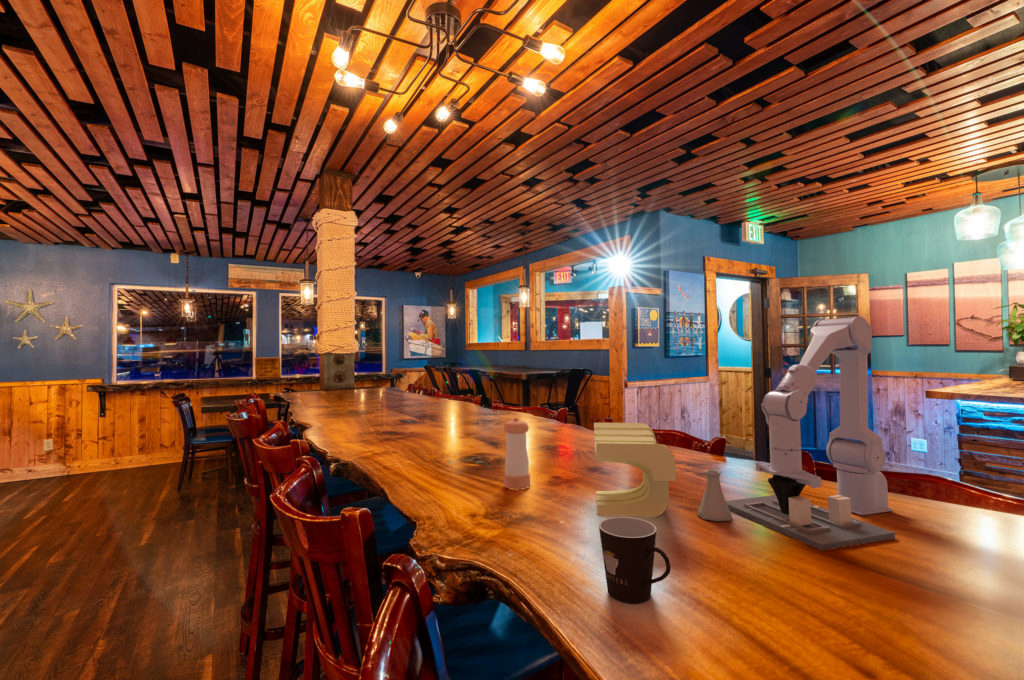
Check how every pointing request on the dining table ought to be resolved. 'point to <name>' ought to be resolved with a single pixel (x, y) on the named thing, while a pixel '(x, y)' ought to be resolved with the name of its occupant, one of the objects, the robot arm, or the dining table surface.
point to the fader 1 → (800, 510)
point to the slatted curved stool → (640, 451)
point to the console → (815, 534)
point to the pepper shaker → (516, 455)
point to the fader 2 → (839, 509)
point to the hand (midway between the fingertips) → (787, 513)
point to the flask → (714, 500)
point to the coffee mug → (630, 558)
